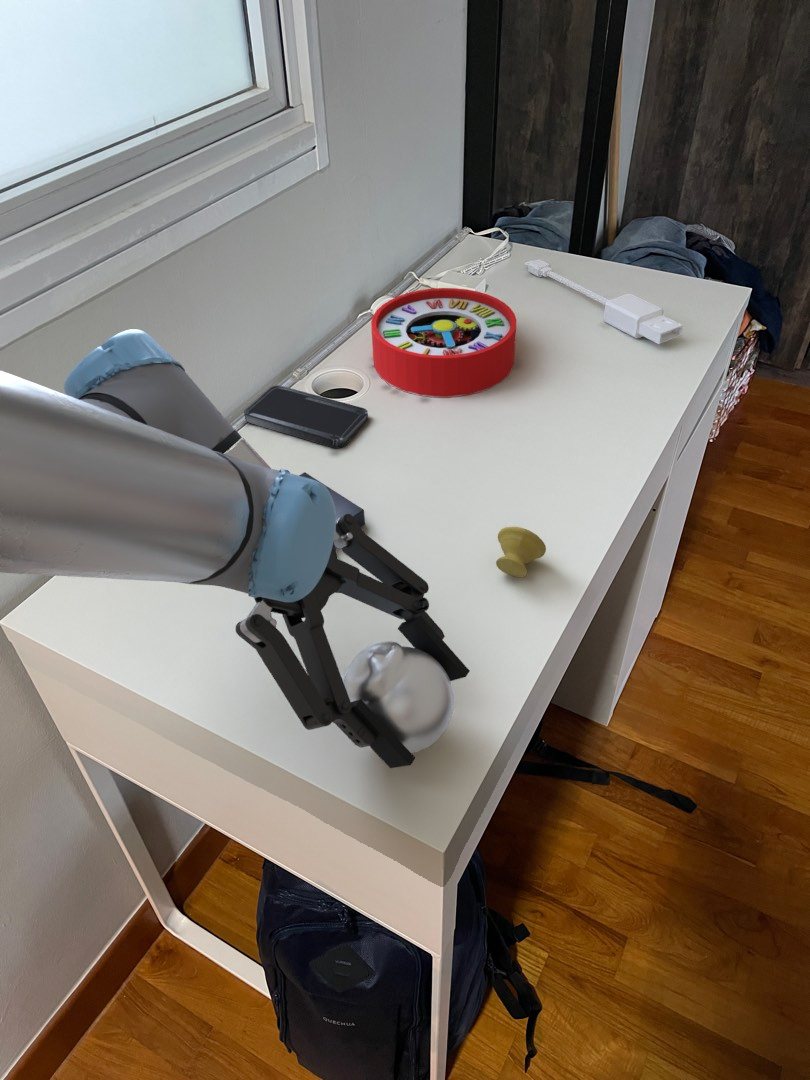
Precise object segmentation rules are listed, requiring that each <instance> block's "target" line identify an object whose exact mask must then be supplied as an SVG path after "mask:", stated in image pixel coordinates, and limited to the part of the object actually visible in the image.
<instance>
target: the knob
mask: <svg viewBox="0 0 810 1080" xmlns="http://www.w3.org/2000/svg"><path fill="white" fill-rule="evenodd" d="M497 541H498V543H499V545H500V548H501V550H502V552H503V555H504V556H501V557H499V558H498V559H497V560H496V561H495V565H496V567H497V568H498V569H499V571H501V572H503V573H504V574H506V575H507V576H511V577H516V578H523V577H525V576H527V574H528V570H527V567H526V565H525V564H528V563H530V562H533V561H535V560H537V559H541V558H542V557H543V556H545V554H546V551H547V546H546V544H545V542H544V541H543V539H542V538H541V537H540V536H539V535H537V534H536V533H534V532H533V531H531V530H530V529H527V528H524V527H520V526H507V527H506V526H505V527H503V528H500V530H499V531H498V533H497Z"/></svg>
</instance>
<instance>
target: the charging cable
mask: <svg viewBox="0 0 810 1080" xmlns="http://www.w3.org/2000/svg"><path fill="white" fill-rule="evenodd" d="M523 264H524V265H525V266H527V272H528V273H530V274H532V275H534V276H535V277H537V278H542V277H544V278H547V277H550V278H552V279H554V280H556V281H557V282H559V283H561V284H563V285H565V286H567V287H569V288H571V289H573V290H575V291H577V292H579V293H581V294H583V295H585V296H587V297H589V298H591V299H592V300H594V301H597V302H599V303H601V304H602V305H604V311H603V319H602V321H603V322H604V323H606V324H608V325H610V326H611V327H614V328H615V329H617V330H620V331H621V332H623V333H625V334H627V335H629V336H630V337H633V338H635V339H640V338H642V337H643V338H646V339H648V340H649V341H651V342H654V343H656V344H658V345H661V344H663V343H666V342H668V341H671V340H674V339H676V338H679V337H681V336H682V332H683V326H684V325H683V324H682V323H679V322H677V321H676V320H673V319H671V318H669V317H668V316H665V315H664V313H665V312H664V311H665V310H664V309H663V308H661V307H659V306H657V305H655V304H653V303H651V302H649V301H646V300H645V299H643V298H640V297H639V296H636V295H634V294H632V293H630V292H629V293H625V294H622V295H619V296H617V297H614V298H611V299H608V298H605V296H602V295H600V294H598V293H596V292H594V291H592V290H590V289H588V288H587V287H584V286H582V285H580V284H578V283H576V282H574V281H572V280H570V279H568V278H566V277H564V276H562V275H559V274H558V273H556V272H554V269H553V268H552V265H551V264H550V263H548V262H545V261H544V260H542V259H540V258H538V259H535V260H529V261H525V262H523Z"/></svg>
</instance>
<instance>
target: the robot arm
mask: <svg viewBox="0 0 810 1080" xmlns="http://www.w3.org/2000/svg"><path fill="white" fill-rule="evenodd" d="M63 390H64V393H61V392H60V391H57V390H55V389H52V388H49V387H46V386H43V385H41V384H38V383H36V382H32V381H30V380H27V379H24V378H23V377H19V376H17V375H14V374H11V373H9V372H6V371H3V370H0V574H14V575H15V574H16V575H17V574H18V575H33V576H56V577H71V578H90V579H92V578H93V579H111V580H129V581H147V582H163V583H164V582H166V583H178V584H179V583H180V584H186V585H195V586H196V585H197V586H199V585H200V586H213V587H214V586H215V587H221V588H225V589H229V590H234V591H237V592H241V593H243V594H248V597H250V598H253V599H254V601H255V605H254V606H253V608H252V609H251V611H250V612H249V613H248V615H247V616H246V618H244V619H242V620H240V621H238V622H237V623H236V624H235V633H236V634H237V635H238V637H240V638H241V639H242V640H243V641H245V642H246V643H247V644H249V646H251V647H252V648H253V649H255V651H256V652H257V654H258V655H259V657H260V659H261V660H262V662H263V663H264V665H265V667H266V668H267V670H268V671H269V673H270V675H271V676H272V678H273V679H274V681H275V683H276V684H277V686H278V687H279V689H280V691H281V692H282V694H283V696H284V697H285V699H286V700H287V702H288V704H289V705H290V706H291V708H292V710H293V712H294V713H295V715H296V716H297V718H298V720H299V721H300V723H301V724H302V726H303V727H304V728H305V729H306V730H308V731H311V730H316V729H320V728H324V727H328V726H330V725H331V724H332V723H334V725H336V726H337V727H338V728H339V730H341V731H342V732H343V733H344V735H345V736H346V737H347V738H348V739H349V740H350V741H351V742H352V743H353V744H354V745H355V746H357V747H359V748H365V747H370V749H371V750H372V751H373V752H374V753H375V754H376V756H378V757H379V758H380V759H381V760H382V761H383V762H384V764H386V765H387V766H388V768H389V769H394V768H402V767H408V766H411V765H412V764H413V762H414V761H415V759H416V757H415V755H413V753H411V752H410V751H409V750H408V749H407V748H406V747H405V746H404V745H403V744H402V743H401V742H400V741H399V740H398V739H397V737H396V736H395V735H394V734H393V733H392V732H391V731H390V730H389V729H388V728H387V727H386V726H385V725H384V723H383V722H382V721H381V720H380V719H379V718H378V717H377V716H376V715H375V714H374V713H373V712H372V711H371V710H370V708H369V707H368V706H367V705H366V704H365V703H364V702H363V701H362V700H361V699H360V700H356V701H353V702H350V699H349V696H348V694H347V691H346V688H345V685H344V683H343V681H344V679H343V678H342V674H341V672H340V669H339V667H338V664H337V660H336V658H335V656H334V653H333V650H332V648H331V645H330V643H329V639H328V637H327V634H326V632H325V631H326V630H325V629H324V625H325V617H324V615H323V612H322V610H323V609H324V608H325V606H326V605H327V603H328V601H329V599H330V597H331V596H332V595H334V594H342V595H345V596H347V597H349V598H351V599H354V600H356V601H358V602H360V603H362V604H365V605H367V606H370V607H371V608H374V609H376V610H379V611H380V612H383V613H386V614H388V615H390V616H393V617H395V618H397V619H399V620H404V622H401V623H400V625H399V626H398V627H397V630H398V631H399V632H400V633H401V635H402V636H403V637H404V638H405V639H406V640H407V641H408V642H409V643H410V645H411V646H412V648H416V649H419V650H421V651H423V652H425V653H427V654H429V655H430V656H432V657H433V658H434V659H435V660H437V661H438V662H439V663H440V665H441V666H442V667H443V668H444V670H445V671H446V673H447V675H448V677H449V679H450V682H452V681H453V682H454V681H457V680H460V679H464V678H467V676H468V674H469V673H470V668H468V667H467V665H466V664H464V662H463V661H462V659H460V658H459V656H458V655H456V654H455V651H453V650H452V649H451V648H450V646H449V645H448V644H447V643H446V642H445V641H444V639H445V637H446V635H445V633H444V631H443V630H442V628H441V627H440V626H439V625H438V624H437V623H436V621H435V620H434V619H433V618H432V617H431V616H430V615H429V614H428V612H427V611H428V610H429V607H430V602H429V600H428V599H427V597H424V596H425V594H427V593H428V592H429V588H430V587H429V584H428V582H427V581H426V580H425V579H424V578H422V576H420V575H418V574H417V572H415V571H414V570H412V569H411V568H409V567H408V566H407V565H406V564H405V563H404V562H402V561H401V560H400V559H398V558H397V557H396V556H395V555H393V554H392V553H390V552H389V551H388V550H387V549H385V547H383V546H382V545H380V544H379V543H378V542H377V541H376V540H374V539H373V538H372V537H371V536H369V535H368V534H367V533H366V532H365V531H364V530H363V528H362V527H360V525H359V524H358V522H357V521H356V520H355V518H354V517H353V516H352V515H351V514H345V515H344V516H342V517H340V518H338V519H337V520H336V511H335V505H334V502H333V499H332V496H331V494H330V492H329V491H328V489H327V488H326V487H325V486H324V485H325V484H324V483H323V482H321V481H320V482H321V483H320V482H318V481H319V480H318V481H316V480H317V479H316V480H312V479H309V478H305V477H302V476H299V474H294V473H291V472H290V471H289V470H288V469H283V468H280V469H274V468H272V467H271V466H270V465H269V464H268V463H267V462H266V461H265V459H263V457H261V455H259V453H258V452H257V451H256V450H255V449H254V448H253V447H252V445H251V444H249V443H248V441H247V440H246V439H245V438H243V437H242V436H241V434H240V432H239V431H237V430H236V429H235V428H234V427H233V426H232V424H231V423H230V422H229V420H227V418H226V417H225V416H224V415H223V414H222V413H221V412H220V410H219V409H218V408H217V407H216V406H215V405H214V404H213V403H212V401H211V400H210V399H209V398H208V396H206V394H205V393H204V392H203V391H202V390H201V388H200V387H199V386H198V385H197V384H196V383H195V381H194V380H193V379H192V378H191V377H190V375H188V373H187V372H186V370H185V368H184V366H183V365H182V363H180V362H179V361H177V360H175V359H174V358H173V356H171V355H170V354H169V353H168V352H167V351H166V350H165V349H164V348H163V347H162V346H161V345H160V344H159V343H158V342H157V341H156V340H155V339H154V338H153V337H152V336H151V335H150V334H148V333H147V332H145V331H144V330H141V329H135V328H131V329H126V330H123V331H121V332H118V333H116V334H115V335H113V336H111V337H109V338H107V340H106V341H105V342H103V344H101V345H100V346H97V347H95V348H94V349H93V350H92V351H91V352H89V353H88V354H87V355H85V357H83V358H82V359H81V360H80V361H79V362H78V363H77V364H76V366H74V368H73V369H72V370H71V371H70V373H68V375H67V377H66V379H65V381H64V384H63ZM322 483H323V484H324V485H323V484H322ZM336 548H337V549H340V550H341V551H342V552H343V553H344V554H345V555H346V556H347V557H349V558H350V559H351V560H353V561H354V562H355V563H357V565H359V566H360V567H362V568H363V569H364V570H365V571H367V572H368V573H370V575H372V576H373V577H375V578H373V577H372V576H369V575H367V574H364V573H362V572H361V571H360V569H359V567H356V566H354V565H353V564H350V563H348V562H346V561H344V560H342V559H339V558H338V555H337V549H336ZM272 613H275V614H280V615H282V617H283V620H284V622H285V623H284V624H285V625H286V628H287V631H288V633H289V635H290V636H291V637H293V638H294V641H295V643H296V646H297V649H298V652H299V654H300V657H301V659H302V662H303V665H304V666H303V665H302V663H301V662H300V660H299V658H298V657H297V655H296V654H295V652H294V650H293V649H292V647H291V645H290V644H289V642H288V640H287V639H286V638H285V636H284V635H283V633H281V631H280V630H279V629H278V628H277V624H278V621H277V620H276V619H275V618H274V617H273V616H272ZM303 619H304V621H303Z"/></svg>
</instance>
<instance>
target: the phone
mask: <svg viewBox="0 0 810 1080" xmlns="http://www.w3.org/2000/svg"><path fill="white" fill-rule="evenodd" d="M243 414H244V419H245V422H246V423H249V424H252V425H256V426H259V427H262V428H266V429H269V430H271V431H276V432H279V433H283V434H286V435H290V436H293V437H296V438H299V439H303V440H306V441H310V442H312V443H316V444H320V445H323V446H325V447H329V448H333V449H340V448H343V447H345V446H346V445H347V444H348V443H349V442H350V441H351V440H352V439H353V438H354V437H355V436H356V434H358V432H359V431H360V430H362V428H363V427H364V426H365V425H366V424H367V423H368V422H369V412H368V410H367V409H366V408H364V407H361V406H357V405H355V404H354V405H353V404H350V403H346V402H342V401H338V400H335V399H331V398H328V397H324V396H320V395H317V394H313V393H311V392H310V393H309V392H306V391H302V390H299V389H295V388H291V387H289V386H288V387H287V386H283V385H278V384H277V385H272V386H270V387H269V388H268V389H266V391H265V392H263V393H262V394H261V395H259V396H258V398H256V399H255V400H254V401H253V402H252V403H250V405H248V406H247V407H246V408H245V409H244V410H243Z"/></svg>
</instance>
